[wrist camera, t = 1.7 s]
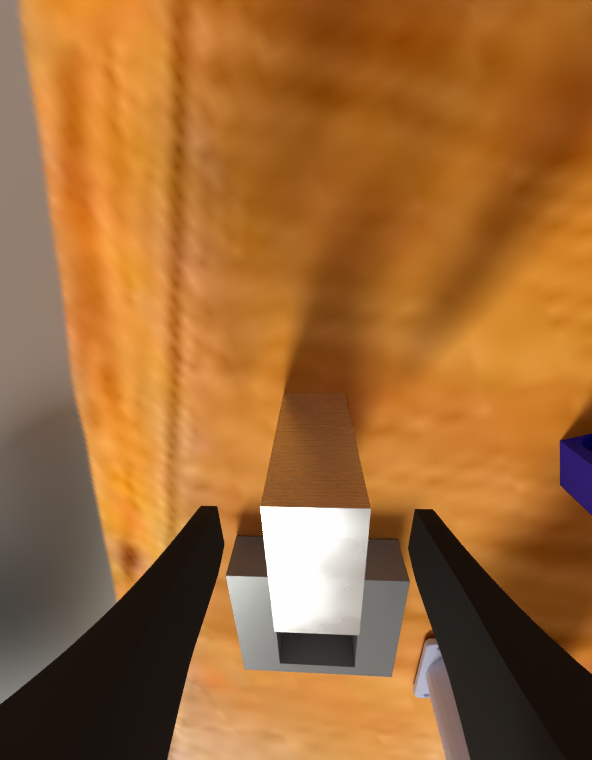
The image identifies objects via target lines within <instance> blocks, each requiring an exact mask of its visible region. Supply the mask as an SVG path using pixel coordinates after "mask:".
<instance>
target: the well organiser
mask: <svg viewBox="0 0 592 760" xmlns="http://www.w3.org/2000/svg"><path fill="white" fill-rule="evenodd" d="M226 579H227V584H228V589H229V594H230V599H231V604H232V609H233V614H234V619H235V624H236V629H237V634H238V639H239V644H240V649H241V653H242V658H243V663H244V668H245V669H247V670H267V671H286V672H306V673H325V674H345V675H364V676H384V677H392V673H393V667H394V662H395V657H396V652H397V646H398V641H399V636H400V630H401V625H402V620H403V614H404V609H405V604H406V598H407V593H408V588H409V583H410V581H409V578H408V574H407V571H406V567H405V564H404V560H403V557H402V554H401V550H400V547H399V543H398V540H389V539H368V546H367V557H366V568H365V579H364V590H363V601H362V611H361V622H360V633H359V635H339V634H316V633H292V632H274V624H273V616H272V607H271V598H270V589H269V580H268V571H267V562H266V553H265V544H264V537H258V536H236V540H235V544H234V547H233V551H232V555H231V559H230V562H229V566H228V570H227V574H226Z"/></svg>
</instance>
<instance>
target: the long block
mask: <svg viewBox="0 0 592 760" xmlns="http://www.w3.org/2000/svg"><path fill="white" fill-rule="evenodd" d="M260 508H261V517H262V526H263V535H264V544H265V553H266V562H267V571H268V580H269V589H270V598H271V607H272V616H273V624H274V632H292V633H316V634H339V635H359V633H360V622H361V611H362V601H363V590H364V579H365V568H366V557H367V546H368V535H369V524H370V513H371V507H370V503H369V498H368V494H367V489H366V485H365V480H364V476H363V471H362V467H361V462H360V458H359V454H358V449H357V445H356V440H355V436H354V431H353V427H352V422H351V418H350V413H349V409H348V404H347V400H346V395H345V393H328V394H283V398H282V403H281V408H280V413H279V418H278V423H277V428H276V433H275V438H274V443H273V447H272V452H271V457H270V462H269V467H268V472H267V477H266V482H265V487H264V492H263V497H262V501H261V506H260Z"/></svg>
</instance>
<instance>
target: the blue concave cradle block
mask: <svg viewBox="0 0 592 760" xmlns="http://www.w3.org/2000/svg"><path fill="white" fill-rule="evenodd" d="M560 485H561V486H562V487H563V488H564V489H565V490H566V491H567V492H568V493H569V494H570V495H571V496H572V497H573V498H574V499H575V500H576V501H577V502H578V503H579V504H581V505H582V506H583V507H584V508H585V509H586V510H587V511H588V512H589V513H590V514H591V515H592V434H588V435H584V436H579V437H575V438H570V439H566V440H561V441H560Z"/></svg>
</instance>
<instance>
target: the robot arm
mask: <svg viewBox="0 0 592 760" xmlns="http://www.w3.org/2000/svg"><path fill="white" fill-rule="evenodd" d="M223 549H224V539H223V534H222V529H221V524H220V518H219V513H218V508H217V506H201V507H200V508H199V509H198V510H197V511H196V512H195V514H194V515H193V516H192V517H191V519H190V520H189V521H188V523H187V524H186V525H185V526H184V528H183V529H182V530H181V531H180V533H179V534H178V535H177V536H176V538H175V539H174V540H173V541H172V542H171V544H170V545H169V546H168V547H167V548H166V549H165V551H164V552H163V553H162V554H161V555H160V557H159V558H158V559H157V560H156V561H155V562H154V564H153V565H152V566H151V567H150V568H149V569H148V570H147V571H146V572H145V573H144V575H143V576H142V577H141V578H140V579H139V580H138V581H137V582H136V583H135V584H134V586H133V587H132V588H131V589H130V590H129V591H128V592H127V593H126V594H125V595H124V596H123V597H122V598H121V599H120V600H119V601H118V602H117V603H116V604H115V605H114V606H113V607H112V608H111V609H110V610H109V611H108V612H107V613H106V614H105V615H104V616H103V617H102V618H101V619H100V620H99V621H98V622H97V623H95V624H94V625H93V626H92V627H91V628H90V629H89V630H88V631H87V632H86V633H85V634H84V635H82V636H81V637H80V638H79V639H78V640H77V641H76V642H75V643H74V644H73V645H71V646H70V647H69V648H68V649H67V650H66V651H65V652H63V653H62V654H61V655H60V656H59V657H58V658H56V659H55V660H54V661H53V662H52V663H50V664H49V665H48V666H47V667H46V668H44V669H43V670H42V671H41V672H40V673H39V674H37V675H36V676H35V677H34V678H32V679H31V680H30V681H29V682H27V683H26V684H25V685H24V686H23V687H21V688H20V689H19V690H18V691H17V692H16V693H14V694H13V695H12V696H10V697H9V698H8V699H6V700H5V701H4V702H3V703H1V704H0V760H167V758H168V753H169V749H170V744H171V740H172V736H173V731H174V727H175V723H176V718H177V714H178V710H179V705H180V701H181V697H182V693H183V689H184V685H185V681H186V677H187V672H188V668H189V665H190V661H191V658H192V654H193V651H194V648H195V644H196V641H197V638H198V635H199V632H200V629H201V626H202V623H203V620H204V617H205V614H206V611H207V608H208V605H209V601H210V598H211V595H212V592H213V589H214V586H215V583H216V579H217V576H218V572H219V568H220V564H221V559H222V554H223ZM408 550H409V555H410V559H411V563H412V568H413V572H414V576H415V580H416V583H417V586H418V589H419V592H420V595H421V598H422V600H423V603H424V606H425V609H426V612H427V615H428V618H429V621H430V623H431V626H432V629H433V632H434V635H435V638H436V639H435V638H431V639H427V640H426V641H425V644H424V648H423V652H422V656H421V660H420V663H419V667H418V671H417V675H416V679H415V683H414V687H413V691H414V695H415V696H416V697H419V698H430V699H431V703H432V706H433V710H434V714H435V718H436V722H437V726H438V729H439V733H440V737H441V741H442V745H443V749H444V752H445V756H446V760H592V674H591V673H590V672H589V671H587V670H586V669H585V668H584V667H583V666H582V665H580V664H579V663H578V662H577V661H576V660H575V659H574V658H572V657H571V656H570V655H569V654H568V653H567V652H566V651H565V650H564V649H563V648H561V647H560V646H559V645H558V644H557V643H556V642H555V641H554V640H553V639H552V638H551V637H550V636H548V635H547V634H546V633H545V632H544V631H543V630H542V629H541V628H540V627H539V626H538V625H537V624H536V623H535V622H534V621H533V620H532V619H531V618H530V617H529V616H528V615H527V614H526V613H525V612H524V611H523V610H522V609H521V608H520V607H519V606H518V605H517V604H516V603H515V602H514V601H513V600H512V599H511V598H510V597H509V596H508V595H507V594H506V593H505V592H504V591H503V590H502V589H501V588H500V587H499V586H498V585H497V583H496V582H495V581H494V580H493V579H492V578H491V577H490V576H489V575H488V574H487V573H486V571H485V570H484V569H483V568H482V567H481V566H480V565H479V564H478V562H477V561H476V560H475V559H474V558H473V557H472V556H471V555H470V553H469V552H468V551H467V550H466V549H465V548H464V546H463V545H462V544H461V543H460V542H459V540H458V539H457V538H456V537H455V536H454V535H453V533H452V532H451V531H450V530H449V528H448V527H447V526H446V525H445V524H444V522H443V521H442V520H441V519H440V517H439V516H438V515H437V514H436V512H435V511H434V510H433V509H415V512H414V517H413V523H412V529H411V535H410V540H409V546H408Z"/></svg>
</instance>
